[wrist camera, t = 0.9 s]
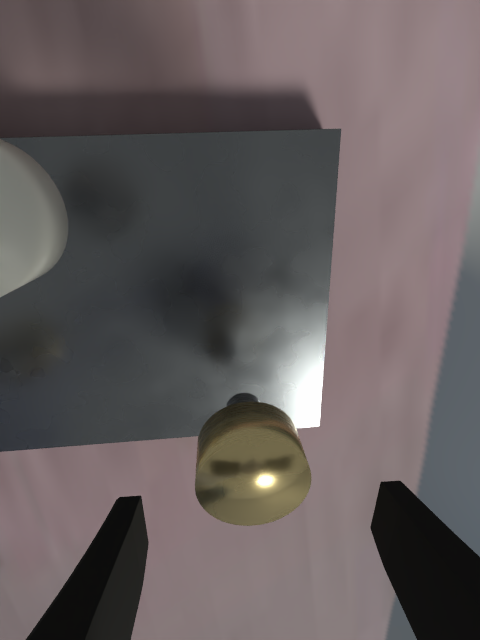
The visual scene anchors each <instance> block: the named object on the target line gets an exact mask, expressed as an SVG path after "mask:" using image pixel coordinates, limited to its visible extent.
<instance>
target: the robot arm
mask: <svg viewBox="0 0 480 640" xmlns="http://www.w3.org/2000/svg"><path fill="white" fill-rule="evenodd" d="M371 531H372V534H373V537H374V540H375V543H376V546H377V549H378V552H379V555H380V557H381V560H382V563H383V566H384V568H385V570H386V573H387V575H388V577H389V579H390V582H391V584H392V586H393V588H394V590H395V593H396V595H397V597H398V599H399V601H400V604H401V606H402V608H403V610H404V612H405V614H406V617H407V619H408V621H409V623H410V625H411V627H412V630H413V632H414V634H415V636H416V638H417V640H480V557H479V556H478V555H477V554H476V553H475V552H474V551H473V550H472V549H471V548H469V547H468V546H467V545H466V544H465V543H464V542H463V541H462V540H461V539H460V538H459V537H458V536H457V535H455V534H454V533H453V532H452V531H451V530H450V529H449V528H448V527H447V526H446V525H445V524H444V523H443V522H442V521H441V520H440V519H439V518H438V517H437V516H436V515H435V514H434V513H433V512H432V511H431V510H430V509H429V508H428V507H427V506H426V505H425V504H424V503H423V502H422V501H420V500H419V499H418V498H417V497H416V496H415V495H414V494H413V493H412V492H411V491H410V490H409V489H408V488H407V487H406V486H405V485H404V484H403V483H402V482H401V481H388V482H381V484H380V488H379V493H378V497H377V501H376V506H375V510H374V515H373V519H372V523H371ZM147 550H148V536H147V530H146V524H145V517H144V511H143V505H142V499H141V496H129V497H119V498H118V499H117V500H116V502H115V504H114V505H113V507H112V509H111V511H110V513H109V514H108V516H107V518H106V520H105V521H104V523H103V525H102V526H101V528H100V530H99V531H98V533H97V535H96V536H95V538H94V540H93V541H92V543H91V545H90V546H89V548H88V549H87V551H86V553H85V554H84V556H83V557H82V559H81V560H80V562H79V563H78V565H77V566H76V568H75V570H74V571H73V573H72V574H71V576H70V577H69V579H68V580H67V582H66V583H65V585H64V586H63V588H62V589H61V591H60V592H59V594H58V595H57V596H56V598H55V599H54V601H53V602H52V604H51V605H50V606H49V608H48V609H47V611H46V612H45V614H44V615H43V616H42V618H41V619H40V621H39V622H38V623H37V625H36V626H35V628H34V629H33V630H32V632H31V633H30V635H29V636H28V637H27V639H26V640H131V635H132V631H133V627H134V622H135V618H136V613H137V609H138V604H139V600H140V595H141V591H142V586H143V580H144V573H145V566H146V558H147Z"/></svg>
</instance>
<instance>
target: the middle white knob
mask: <svg viewBox="0 0 480 640" xmlns="http://www.w3.org/2000/svg"><path fill="white" fill-rule="evenodd" d="M67 239H68V217H67V211H66V208H65V204H64V201H63V199H62V197H61V194H60V192H59V190H58V188H57V187H56V185H55V183H54V182H53V180H52V179H51V177H50V176H49V175H48V173H47V172H46V171H45V170H44V169H43V168H42V167H41V165H40V164H38V163H37V162H36V161H35V160H34V159H33V158H32V157H31V156H29V155H28V154H27V153H25V152H24V151H23V150H21V149H19V148H17V147H16V146H14V145H12V144H10V143H8V142H6V141H3V140H1V139H0V297H2V296H4V295H6V294H8V293H9V292H11V291H13V290H15V289H17V288H19V287H21V286H23V285H25V284H27V283H29V282H31V281H32V280H34V279H36V278H38V277H40V276H42V275H43V274H45V273H47V272H48V271H49V270H50V269H52V268H53V267H54V265H55V264H56V263H57V262H58V261H59V259H60V257H61V256H62V254H63V252H64V249H65V247H66V243H67Z"/></svg>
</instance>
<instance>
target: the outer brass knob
mask: <svg viewBox="0 0 480 640" xmlns="http://www.w3.org/2000/svg"><path fill="white" fill-rule="evenodd" d="M310 485H311V472H310V468H309V465H308V462H307V459H306V456H305V453H304V450H303V447H302V444H301V441H300V438H299V436H298V433H297V430H296V427H295V424H294V423H293V421H292V419H291V418H290V417H289V416H288V415H287V414H286V413H285V412H284V411H282V410H281V409H279V408H277V407H275V406H273V405H270V404H267V403H262V402H259V400H258V398H257V397H256V396H254V395H252V394H250V393H239V394H236V395H234V396H232V397H231V398H230V399H229V400H228V402H227V405H226V407H225V408H223V409H221V410H219V411H217V412H216V413H215V414H213V415H212V416H211V417H210V418H209V419H208V420H207V421H206V422H205V424H204V425H203V427H202V429H201V431H200V434H199V437H198V447H197V463H196V479H195V491H196V496H197V499H198V501H199V503H200V504H201V506H202V507H203V508H204V509H205V511H207V512H208V513H209V514H210V515H212V516H213V517H215V518H217V519H219V520H221V521H223V522H226V523H230V524H235V525H245V526H250V525H260V524H265V523H269V522H272V521H275V520H278V519H280V518H282V517H284V516H286V515H288V514H289V513H290V512H292V511H293V510H294V509H296V508H297V507H298V506H299V505H300V504H301V503H302V501H303V500H304V499H305V497H306V495H307V493H308V491H309V488H310Z"/></svg>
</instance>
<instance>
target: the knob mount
mask: <svg viewBox="0 0 480 640" xmlns="http://www.w3.org/2000/svg"><path fill="white" fill-rule="evenodd" d="M340 137H341V129H313V130H276V131H240V132H203V133H167V134H131V135H94V136H58V137H21V138H0V139H1V140H3V141H6V142H8V143H10V144H12V145H14V146H16V147H17V148H19V149H21V150H23V151H24V152H25V153H27V154H28V155H29V156H31V157H32V158H33V159H34V160H35V161H36V162H37V163H38V164H40V165H41V167H42V168H43V169H44V170H45V171H46V172H47V173H48V175H49V176H50V177H51V179H52V180H53V182H54V183H55V185H56V187H57V188H58V190H59V192H60V194H61V197H62V199H63V201H64V204H65V208H66V211H67V217H68V239H67V243H66V247H65V249H64V252H63V254H62V256H61V257H60V259H59V261H58V262H57V263H56V264H55V265H54V267H53V268H52V269H50V270H49V271H48V272H47V273H45V274H43V275H42V276H40V277H38V278H36V279H34V280H32V281H31V282H29V283H27V284H25V285H23V286H21V287H19V288H17V289H15V290H13V291H11V292H9V293H8V294H6V295H4V296H2V297H0V452H2V451H15V450H27V449H40V448H53V447H65V446H78V445H90V444H103V443H116V442H128V441H141V440H154V439H166V438H179V437H191V436H199V434H200V431H201V429H202V427H203V425H204V424H205V422H206V421H207V420H208V419H209V418H210V417H211V416H212V415H213V414H215V413H216V412H217V411H219V410H221V409H223V408H225V407H226V405H227V402H228V400H229V399H230V398H231V397H232V396H234V395H236V394H239V393H250V394H252V395H254V396H256V397H257V398H258V400H259V402H262V403H267V404H270V405H273V406H275V407H277V408H279V409H281V410H282V411H284V412H285V413H286V414H287V415H288V416H289V417H290V418H291V419H292V421H293V423H294V424H295V427H296V428H305V427H318V426H319V424H320V411H321V397H322V383H323V370H324V356H325V342H326V329H327V315H328V301H329V288H330V274H331V260H332V247H333V233H334V219H335V206H336V192H337V178H338V165H339V151H340Z"/></svg>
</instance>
